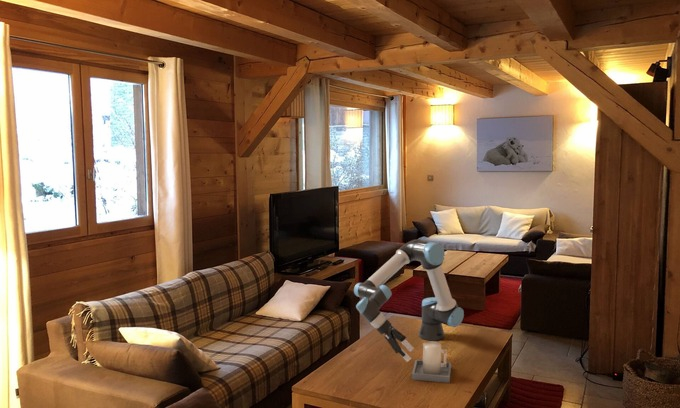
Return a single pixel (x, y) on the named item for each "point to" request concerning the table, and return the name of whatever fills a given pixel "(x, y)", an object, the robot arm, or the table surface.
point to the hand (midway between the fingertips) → (410, 355)
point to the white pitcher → (433, 358)
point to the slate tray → (419, 374)
